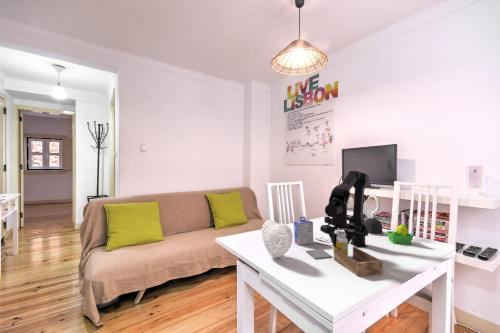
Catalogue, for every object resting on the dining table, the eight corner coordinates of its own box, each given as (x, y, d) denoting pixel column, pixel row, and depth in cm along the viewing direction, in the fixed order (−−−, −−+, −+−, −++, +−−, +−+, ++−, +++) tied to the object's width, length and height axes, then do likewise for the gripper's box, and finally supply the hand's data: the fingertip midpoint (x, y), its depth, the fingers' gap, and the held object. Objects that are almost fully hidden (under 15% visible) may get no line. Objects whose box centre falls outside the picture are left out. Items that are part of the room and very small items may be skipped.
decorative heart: (256, 254, 111) (256, 219, 111) (272, 249, 117) (272, 216, 117) (281, 267, 96) (281, 228, 96) (298, 261, 102) (298, 224, 102)
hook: (360, 230, 151) (360, 193, 151) (375, 230, 152) (375, 193, 152) (371, 235, 140) (371, 195, 139) (387, 235, 141) (387, 195, 141)
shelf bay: (355, 257, 107) (355, 247, 107) (382, 273, 91) (382, 261, 91) (333, 259, 104) (333, 249, 104) (358, 276, 89) (358, 264, 89)
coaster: (321, 250, 116) (321, 249, 116) (332, 257, 107) (332, 256, 107) (305, 252, 114) (305, 250, 114) (315, 259, 105) (315, 257, 105)
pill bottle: (331, 254, 111) (331, 230, 111) (343, 253, 112) (343, 230, 112) (337, 259, 105) (337, 234, 105) (350, 259, 105) (350, 234, 105)
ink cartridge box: (308, 240, 131) (308, 215, 131) (313, 243, 126) (314, 217, 126) (293, 242, 128) (293, 217, 128) (298, 245, 123) (298, 219, 123)
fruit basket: (406, 240, 131) (406, 221, 131) (415, 245, 123) (415, 225, 123) (385, 239, 133) (385, 220, 133) (393, 245, 124) (393, 224, 124)
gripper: (346, 209, 118) (346, 239, 118) (314, 211, 114) (314, 241, 114) (361, 214, 107) (361, 246, 107) (326, 216, 103) (326, 250, 103)
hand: (340, 246), depth 108 cm, fingers closed on pill bottle, 6 cm apart
